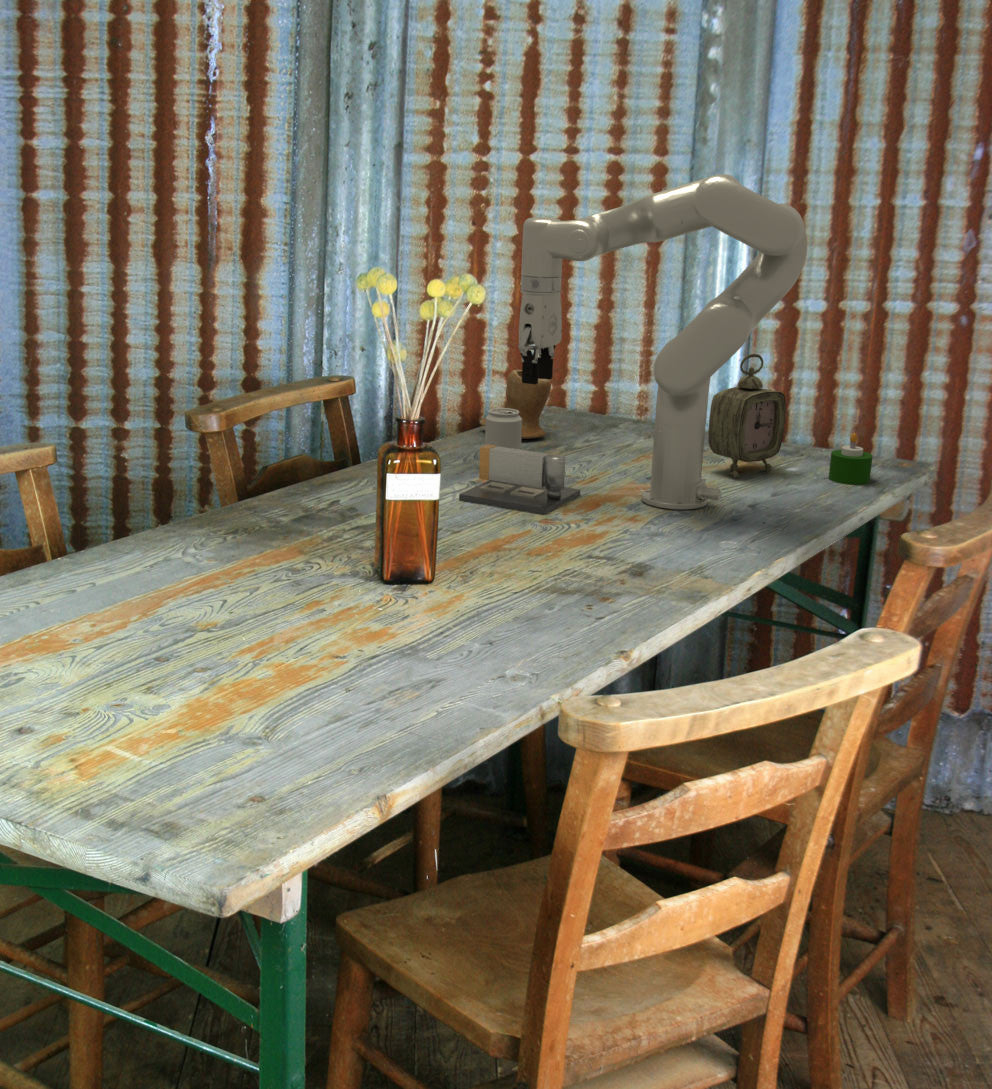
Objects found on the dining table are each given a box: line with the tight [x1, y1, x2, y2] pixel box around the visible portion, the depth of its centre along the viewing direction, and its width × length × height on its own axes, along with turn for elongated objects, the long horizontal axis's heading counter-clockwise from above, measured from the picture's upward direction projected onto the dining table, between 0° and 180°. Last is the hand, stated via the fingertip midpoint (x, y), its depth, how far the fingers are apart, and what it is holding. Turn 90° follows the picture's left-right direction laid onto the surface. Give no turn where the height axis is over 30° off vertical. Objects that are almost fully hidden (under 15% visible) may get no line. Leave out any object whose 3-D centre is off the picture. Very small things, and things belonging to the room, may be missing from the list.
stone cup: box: [480, 369, 552, 440], centre depth 304 cm, size 15×12×15 cm
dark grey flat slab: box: [458, 480, 582, 516], centre depth 254 cm, size 18×16×3 cm
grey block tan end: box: [478, 444, 566, 490], centre depth 252 cm, size 17×4×6 cm, turn 63°
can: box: [484, 407, 522, 450], centre depth 275 cm, size 8×8×12 cm
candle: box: [828, 432, 873, 486], centre depth 274 cm, size 8×8×10 cm
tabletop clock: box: [707, 353, 787, 479], centre depth 275 cm, size 14×9×25 cm, turn 129°
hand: (537, 380), depth 254 cm, fingers open, 5 cm apart
